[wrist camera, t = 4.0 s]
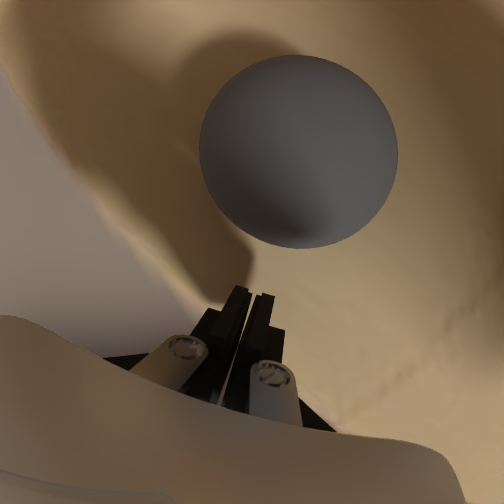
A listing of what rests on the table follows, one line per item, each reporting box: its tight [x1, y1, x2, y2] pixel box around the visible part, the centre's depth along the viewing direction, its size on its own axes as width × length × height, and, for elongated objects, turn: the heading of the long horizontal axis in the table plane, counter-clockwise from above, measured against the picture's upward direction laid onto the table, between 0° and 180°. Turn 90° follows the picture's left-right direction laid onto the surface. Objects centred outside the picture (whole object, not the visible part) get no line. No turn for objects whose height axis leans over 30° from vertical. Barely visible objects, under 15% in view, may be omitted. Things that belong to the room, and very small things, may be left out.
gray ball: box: [199, 55, 398, 249], centre depth 8 cm, size 6×6×6 cm
